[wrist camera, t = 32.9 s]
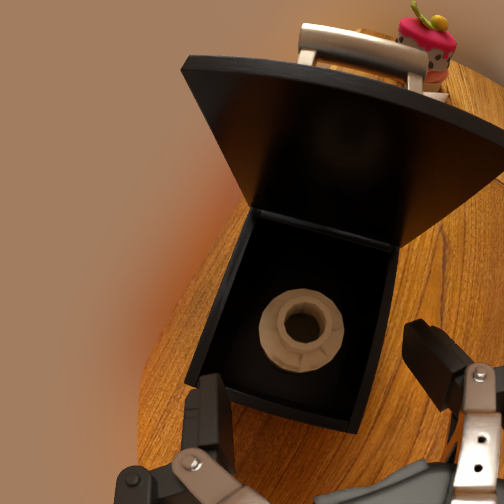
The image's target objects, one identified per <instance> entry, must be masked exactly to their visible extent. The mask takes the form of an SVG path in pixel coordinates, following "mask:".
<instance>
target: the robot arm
mask: <svg viewBox="0 0 504 504" xmlns="http://www.w3.org/2000/svg"><path fill="white" fill-rule="evenodd" d="M402 356H403V360H404V362H405V364H406V365H407V366H408V368H409V369H410V370H411V372H412V373H413V375H414V376H415V377H416V379H417V380H418V381H419V383H420V384H421V386H422V387H423V388H424V390H425V391H426V393H427V394H428V395H429V397H430V398H431V400H432V401H433V403H434V404H435V405H436V407H437V408H438V410H439V411H440V412H441V411H443V410H445V409H447V408H449V409H450V410H451V413H450V417H449V423H448V430H447V435H446V441H445V446H444V450H443V454H442V457H441V459H440V462H433V463H426V461H425V459H424V458H422V459H420V460H418V461H416V462H413V463H411V464H409V465H407V466H404V467H402V468H400V469H398V470H397V471H395V472H394V473H392V474H391V475H389V476H388V477H386V478H385V479H383V480H382V481H380V482H379V483H377V484H376V485H373V486H368V487H360V488H351V489H342V490H338V491H335V492H331V493H328V494H324V495H320V496H316V497H313V500H314V504H504V480H503V479H500V478H497V475H498V467H499V457H500V443H501V426H502V428H503V429H504V366H500V367H496V368H492V367H491V366H490V365H488V364H486V363H482V362H476V363H474V362H473V361H472V360H471V358H470V357H469V356H468V355H467V354H466V353H465V352H464V351H463V350H462V349H461V348H460V347H459V346H458V345H457V344H455V342H454V341H453V340H452V339H451V338H450V337H449V336H448V335H447V334H446V333H445V332H444V331H443V330H441V329H439V328H437V327H435V326H431V327H430V326H429V325H428V324H427V323H426V322H425V321H424V320H423V319H417V320H415V321H412V322H409V323H406V324H405V326H404V333H403V344H402ZM184 410H185V411H184V419H183V429H182V441H181V450H180V452H179V453H178V454H177V455H176V456H175V457H174V458H173V461H172V462H171V463H169V464H168V465H165V466H162V467H159V468H156V469H153V470H150V471H148V470H147V469H146V468H144V467H142V466H130V467H127V468H125V469H124V470H122V471H121V472H120V474H119V475H118V477H117V482H116V489H115V497H114V504H272V503H270V502H269V501H268V500H266V499H265V498H264V497H262V496H261V495H260V494H258V493H257V492H256V491H254V490H253V489H252V488H251V487H249V486H248V485H246V484H244V485H243V484H242V483H240V482H239V481H238V480H237V479H235V478H234V477H233V476H232V475H231V474H236V468H235V455H234V440H233V425H232V410H231V404H230V400H229V396H228V394H227V391H226V389H225V386H224V384H223V381H222V378H221V376H220V374H219V373H214V374H209V375H203V376H201V378H200V388H199V389H192V390H191V391H190V392H189V394H188V396H187V397H186V399H185V407H184Z"/></svg>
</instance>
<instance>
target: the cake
mask: <svg viewBox="0 0 504 504" xmlns="http://www.w3.org/2000/svg"><path fill="white" fill-rule="evenodd" d="M411 7H412V10H413V11H414V13H415V14H416V16H417V17H418V18H412V17H406V18H403V19H401V21H400V24H399V29H398V31H399V36H398V39H396V41H395V42H396V43H400V44H403V45H406V46H409V47H412V48H415V49H418V50H421V51H424V52H426V53H427V54H428V59H429V63H428V71H427V76H426V79H425V82H424V84H423V92H434V93H436V92H438V91H439V89H440V86H441V84H442V82H443V81H444V80H445V79H446V78H447V76H448V67H449V64H450V59H451V57H452V55H453V53H454V52H455V49H456V45H457V43H456V40H455V39H454V38H453V37H452V35H451V34H449V33H448V32H447V31H446V30H447V29H448V23H447V20H446V19H445V18H443V17H441V16H439V15H436V16H433V17H432V19H431V22H429V21H428V20H427V19H425V17H424V16H423V15H421V14H420V13H419V11H418V8H417V5H416V2H415V1H412V4H411ZM401 83H402V82H401ZM403 84H404V83H403Z"/></svg>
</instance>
